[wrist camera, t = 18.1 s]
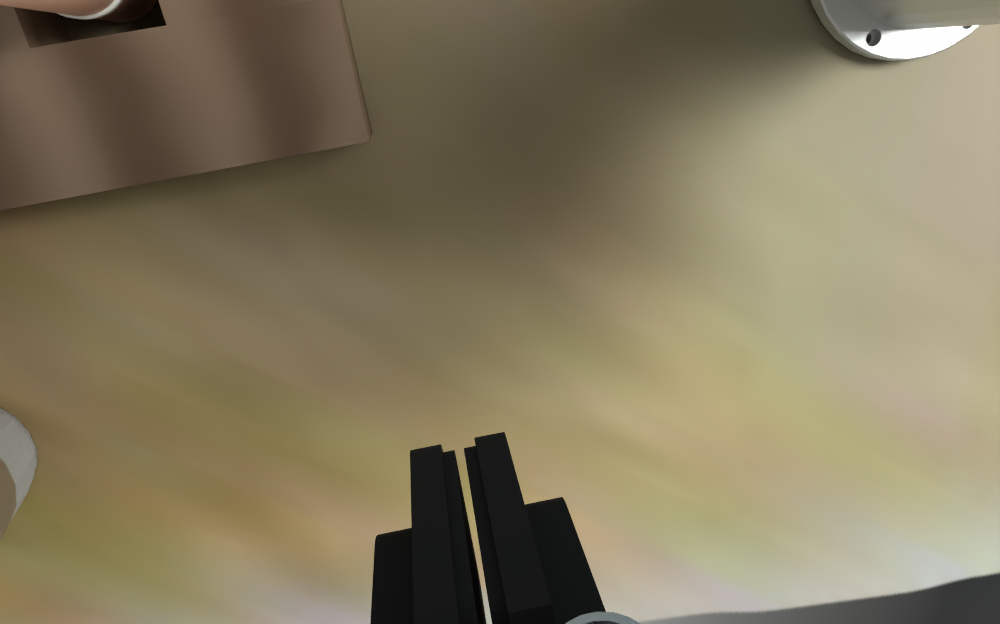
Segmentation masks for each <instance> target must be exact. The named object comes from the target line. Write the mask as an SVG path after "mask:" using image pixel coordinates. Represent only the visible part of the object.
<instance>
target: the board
mask: <svg viewBox="0 0 1000 624" xmlns="http://www.w3.org/2000/svg"><path fill="white" fill-rule="evenodd" d="M158 1H159V4H160V7H161V10H162V13H163V16H164V19H165V22H166V25H165V26H159V27H153V28H147V29H141V30H135V31H129V32H123V33H117V34H111V35H106V36H100V37H94V38H88V39H82V40H76V41H69V39H68V36H67V33H66V31H65V28H64V25H63V23H62V20H61V17H60V15H59V14H57V13H52V12H45V11H38V10H31V9H24V8H17V7H10V6H3V5H0V210H6V209H11V208H17V207H22V206H27V205H33V204H38V203H43V202H49V201H54V200H60V199H65V198H70V197H76V196H81V195H86V194H92V193H97V192H103V191H108V190H113V189H119V188H124V187H129V186H135V185H140V184H146V183H151V182H156V181H162V180H167V179H172V178H178V177H183V176H189V175H194V174H199V173H205V172H210V171H215V170H221V169H226V168H231V167H237V166H242V165H248V164H253V163H258V162H264V161H269V160H274V159H280V158H285V157H291V156H296V155H301V154H307V153H312V152H317V151H323V150H328V149H334V148H339V147H344V146H350V145H355V144H360V143H366V142H370V138H371V135H372V131H371V127H370V122H369V118H368V114H367V109H366V105H365V101H364V96H363V92H362V88H361V83H360V79H359V74H358V70H357V66H356V61H355V57H354V53H353V48H352V44H351V40H350V35H349V31H348V27H347V22H346V18H345V14H344V9H343V5H342V0H158Z"/></svg>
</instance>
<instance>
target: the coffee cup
mask: <svg viewBox="0 0 1000 624" xmlns="http://www.w3.org/2000/svg"><path fill="white" fill-rule="evenodd" d="M36 467H37V450H36V446H35V444H34V442H33V440H32V438H31V435H30V433H29V432H28V430H27V429H26V428H25V427H24V426H23V425H22V424H21V423H20V422H19V421H18V419H17V418H16V417H14V416H13V415H11V414H9V413H8V412H6V411H5V410H3V409H2V408H0V539H1V537H2V535H3V534H4V532H5V530H6V529H7V527H8V525H9V523H10V522H11V520H12V518H13V517H14V515H15V513H16V511H17V510H18V508H19V506H20V505H21V503H22V501H23V500H24V498H25V496H26V494H27V493H28V491H29V488H30V486H31V483H32V480H33V478H34V472H35V469H36Z"/></svg>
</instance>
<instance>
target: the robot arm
mask: <svg viewBox="0 0 1000 624" xmlns="http://www.w3.org/2000/svg"><path fill="white" fill-rule="evenodd" d="M811 3H812V6H813V8H814V9H815V11H816V13H817V15H818V17H819V19H820V21H821V23H822V24H823V25H824V27H825V28H826V29H827V30H828V31H829V32H830V34H831V35H832V36H833V37H834V38H835V39H836V40H837V41H838V42H840V43H841V44H842V45H844V46H845V47H847V48H848V49H849V50H851V51H853V52H855V53H858V54H860V55H863V56H865V57H867V58H872V59H879V60H886V61H898V60H905V61H908V60H913V59H918V58H924V57H928V56H931V55H933V54H936V53H938V52H941V51H943V50H946V49H948V48H950V47H951V46H953V45H954V44H956V43H958V42H959V41H961V40H962V39H964V38H966V37H967V36H968V35H970V34H971V33H972V32H973V31H974V30H975V29H976V28H978V27H979V26H980V25H990V24H1000V0H811ZM475 444H476V446H473V447H468V448H464V452H465V458H466V464H467V470H468V477H469V483H470V489H471V495H472V502H473V508H474V514H475V520H476V526H477V533H478V539H479V545H480V551H481V558H482V564H483V570H484V576H485V583H486V589H487V595H488V601H489V607H490V613H491V619H492V624H640V623H638V622H636V621H635V620H633V619H632V618H630V617H627V616H624V615H621V614H617V613H614V612H606V611H605V608H604V605H603V603H602V600H601V597H600V595H599V592H598V589H597V587H596V584H595V581H594V578H593V576H592V573H591V570H590V568H589V565H588V562H587V559H586V557H585V554H584V551H583V549H582V546H581V543H580V540H579V538H578V535H577V532H576V530H575V527H574V524H573V521H572V519H571V516H570V513H569V511H568V508H567V505H566V503H565V501H564V499H563V498H562V497H560V498H555V499H550V500H546V501H541V502H536V503H531V504H526V505H524V501H523V497H522V494H521V490H520V486H519V483H518V479H517V476H516V472H515V468H514V465H513V461H512V457H511V454H510V450H509V446H508V443H507V439H506V436H505V433H504V432H502V433H497V434H491V435H486V436H481V437H476V438H475ZM410 469H411V514H412V528H409V529H404V530H400V531H395V532H390V533H385V534H380V535H377V537H376V540H375V552H374V571H373V589H372V607H371V624H486V619H485V612H484V605H483V599H482V592H481V586H480V580H479V574H478V569H477V563H476V558H475V553H474V548H473V543H472V538H471V533H470V527H469V522H468V517H467V512H466V507H465V502H464V497H463V491H462V486H461V481H460V476H459V471H458V466H457V461H456V456H455V451H454V450H453V451H448V452H443V450H442V446H441V445H435V446H430V447H425V448H420V449H415V450H411V451H410Z"/></svg>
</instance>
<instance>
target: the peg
mask: <svg viewBox="0 0 1000 624" xmlns="http://www.w3.org/2000/svg"><path fill="white" fill-rule="evenodd" d="M155 2H156V0H0V5H3V6H10V7H17V8H24V9H31V10H38V11H45V12H52V13H57V14H59V15H62V16H65V17H69V18H75V19H87V20H88V19H100V20H107V21H114V22H130V21H134V20H137V19H139V18H141V17H143V16H144V15H146V14H147V13H148V12H149V11H150V10H151V9H152V7H153V6H154V4H155Z"/></svg>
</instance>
